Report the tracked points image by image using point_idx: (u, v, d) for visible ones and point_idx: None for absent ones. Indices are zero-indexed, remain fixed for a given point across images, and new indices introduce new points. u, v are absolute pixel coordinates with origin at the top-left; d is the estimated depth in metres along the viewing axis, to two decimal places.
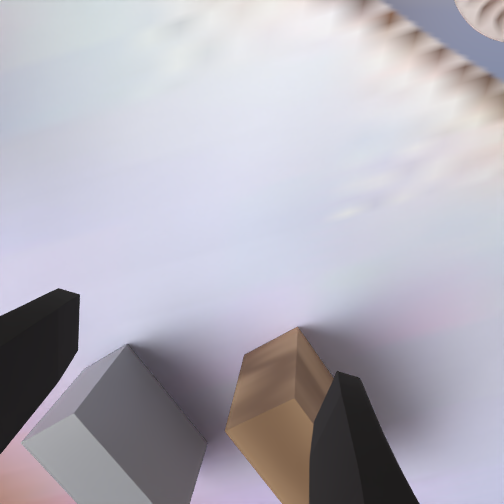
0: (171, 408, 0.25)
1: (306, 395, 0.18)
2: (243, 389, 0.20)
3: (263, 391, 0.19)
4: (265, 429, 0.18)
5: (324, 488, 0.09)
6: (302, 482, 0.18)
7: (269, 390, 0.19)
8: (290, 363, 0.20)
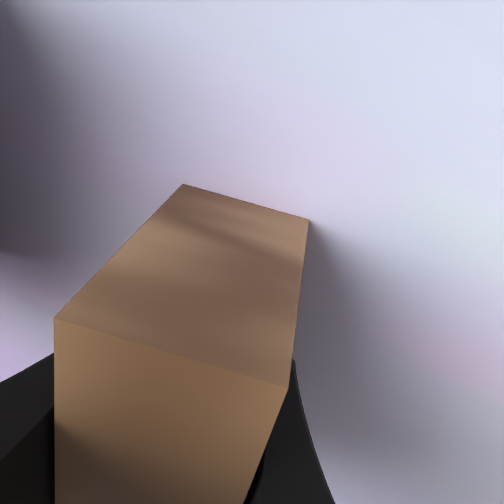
0: None
1: None
2: (153, 249, 0.08)
3: (201, 295, 0.07)
4: (155, 385, 0.06)
5: None
6: (127, 498, 0.08)
7: (220, 306, 0.07)
8: (284, 281, 0.08)
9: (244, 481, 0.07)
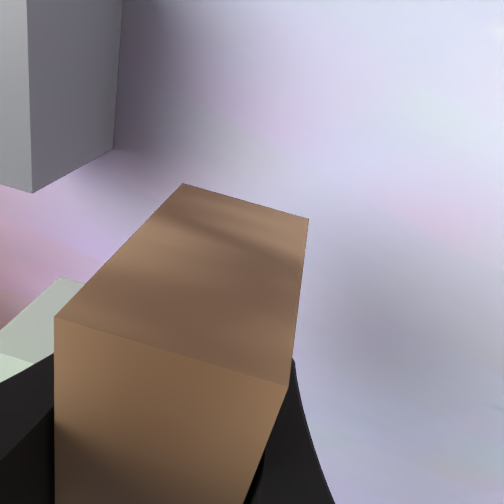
0: (111, 70, 0.17)
1: None
2: (153, 248, 0.08)
3: (201, 295, 0.07)
4: (155, 384, 0.06)
5: None
6: (128, 497, 0.08)
7: (220, 305, 0.07)
8: (285, 280, 0.08)
9: (244, 480, 0.07)
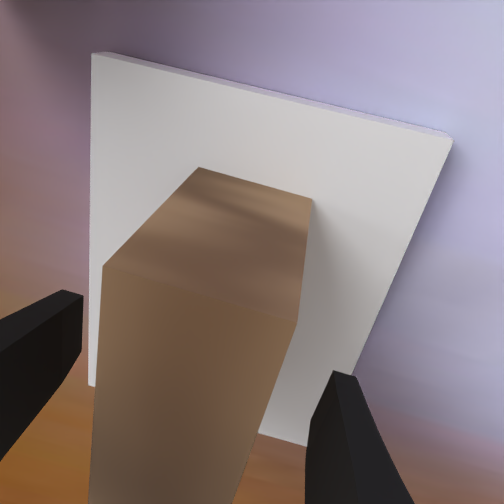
0: None
1: None
2: (178, 218, 0.09)
3: (221, 254, 0.09)
4: (185, 324, 0.08)
5: (319, 486, 0.09)
6: (157, 432, 0.09)
7: (237, 262, 0.08)
8: (292, 245, 0.10)
9: (259, 411, 0.08)
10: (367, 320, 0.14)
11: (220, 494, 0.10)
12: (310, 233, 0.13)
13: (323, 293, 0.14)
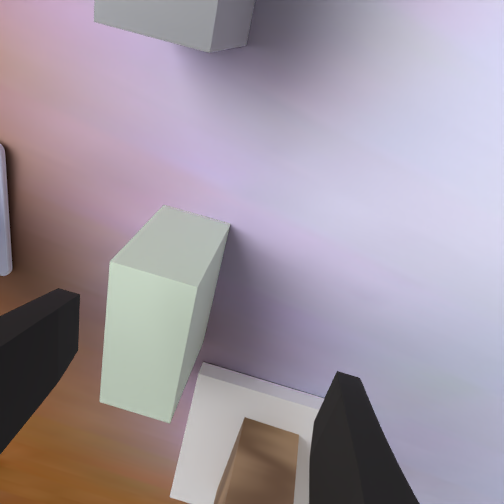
0: None
1: None
2: (242, 472, 0.23)
3: (262, 497, 0.22)
4: None
5: (323, 488, 0.09)
6: None
7: (268, 502, 0.22)
8: (289, 483, 0.23)
9: None
10: None
11: None
12: (298, 447, 0.26)
13: (304, 470, 0.27)
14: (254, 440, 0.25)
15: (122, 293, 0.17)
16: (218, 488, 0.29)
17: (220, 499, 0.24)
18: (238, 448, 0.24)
